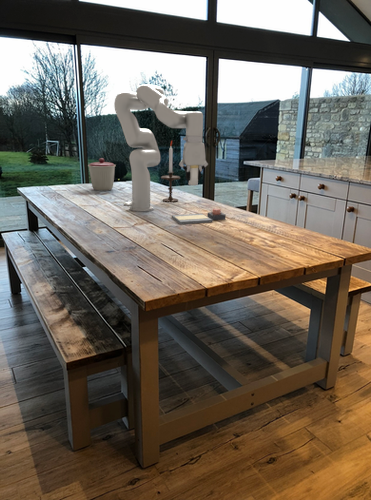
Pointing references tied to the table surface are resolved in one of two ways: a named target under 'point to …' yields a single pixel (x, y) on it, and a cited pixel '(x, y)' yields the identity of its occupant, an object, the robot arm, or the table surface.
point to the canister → (102, 175)
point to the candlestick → (170, 178)
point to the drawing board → (191, 218)
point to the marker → (193, 175)
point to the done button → (216, 211)
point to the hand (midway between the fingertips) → (193, 179)
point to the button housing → (216, 216)
